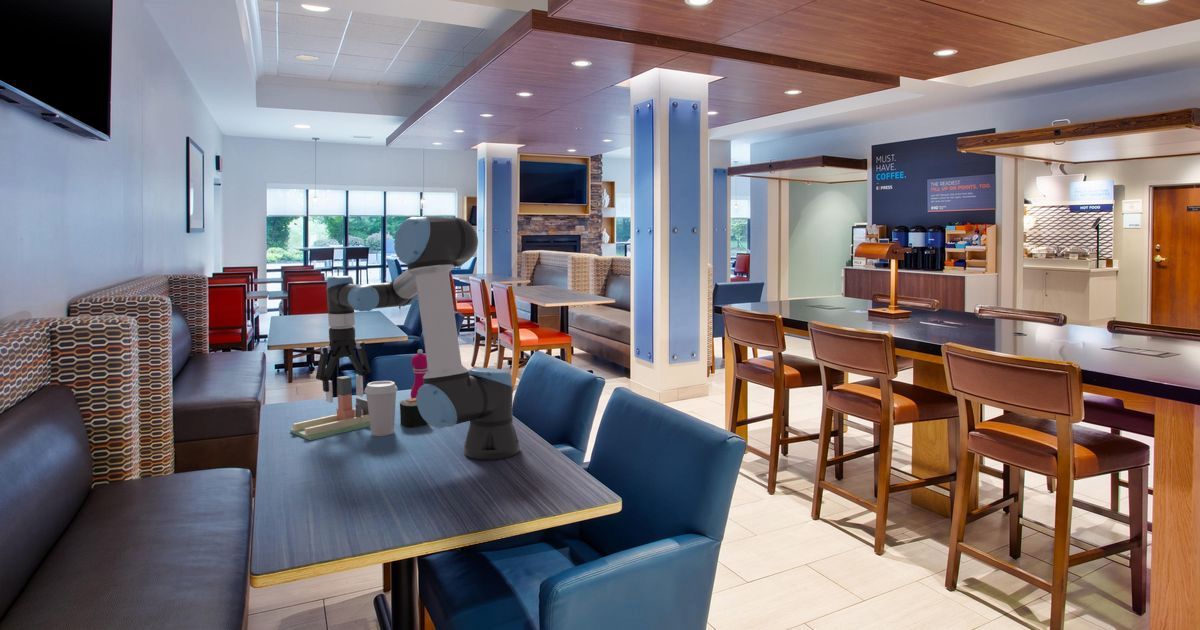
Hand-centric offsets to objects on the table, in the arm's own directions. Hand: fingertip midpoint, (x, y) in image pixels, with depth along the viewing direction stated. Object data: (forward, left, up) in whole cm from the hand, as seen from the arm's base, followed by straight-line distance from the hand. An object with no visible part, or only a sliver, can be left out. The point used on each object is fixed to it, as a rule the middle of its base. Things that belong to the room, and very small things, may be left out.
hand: (344, 398), depth 220 cm
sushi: (-14, -15, -9) cm, 23 cm away
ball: (0, -4, -6) cm, 7 cm away
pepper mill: (+2, -29, -9) cm, 30 cm away
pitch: (0, +4, -9) cm, 9 cm away
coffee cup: (-15, -3, -9) cm, 18 cm away
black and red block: (0, 0, -7) cm, 7 cm away
